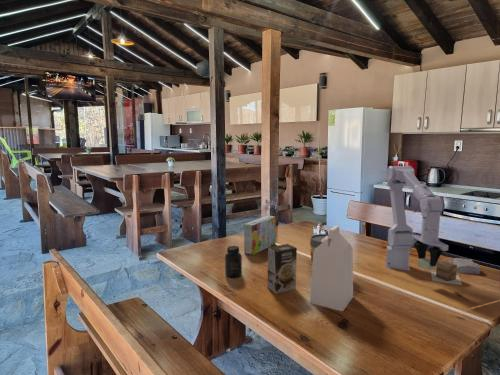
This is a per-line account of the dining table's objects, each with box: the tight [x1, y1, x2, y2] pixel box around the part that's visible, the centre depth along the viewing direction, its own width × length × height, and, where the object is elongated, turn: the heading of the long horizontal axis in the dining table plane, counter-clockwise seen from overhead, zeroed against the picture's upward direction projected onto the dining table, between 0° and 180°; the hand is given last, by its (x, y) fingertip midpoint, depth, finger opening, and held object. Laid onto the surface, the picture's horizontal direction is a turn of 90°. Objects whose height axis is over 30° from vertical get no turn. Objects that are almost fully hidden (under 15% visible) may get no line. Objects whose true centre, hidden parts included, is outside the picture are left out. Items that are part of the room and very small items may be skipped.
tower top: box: [435, 260, 458, 274], centre depth 139 cm, size 5×5×3 cm
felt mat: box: [430, 271, 463, 286], centre depth 139 cm, size 10×10×1 cm
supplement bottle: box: [224, 245, 243, 279], centre depth 143 cm, size 7×7×12 cm
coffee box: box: [267, 243, 298, 294], centre depth 130 cm, size 9×6×16 cm
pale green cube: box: [417, 257, 437, 271], centre depth 132 cm, size 4×4×3 cm
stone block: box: [448, 257, 482, 275], centre depth 149 cm, size 12×5×10 cm
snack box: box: [243, 215, 277, 256], centre depth 176 cm, size 21×6×15 cm, turn 144°
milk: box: [309, 225, 354, 312], centre depth 121 cm, size 12×12×26 cm
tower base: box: [435, 269, 458, 281], centre depth 139 cm, size 5×5×3 cm
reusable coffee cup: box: [309, 233, 329, 263], centre depth 145 cm, size 13×13×15 cm
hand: (427, 263), depth 132 cm, fingers closed on pale green cube, 4 cm apart
